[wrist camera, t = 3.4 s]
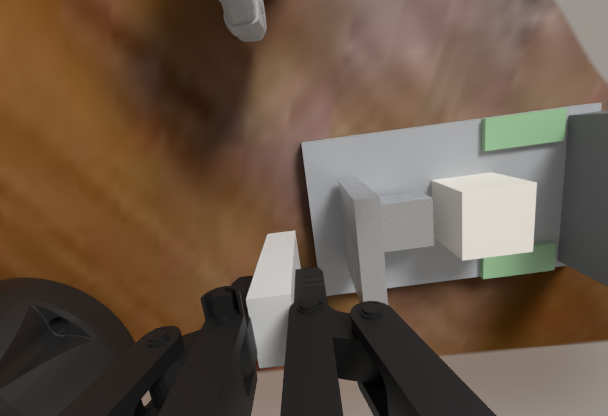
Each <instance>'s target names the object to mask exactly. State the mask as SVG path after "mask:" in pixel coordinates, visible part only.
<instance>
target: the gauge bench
mask: <svg viewBox="0 0 608 416" xmlns="http://www.w3.org/2000/svg"><path fill="white" fill-rule="evenodd" d="M601 105H602V103H592V104H582V105H575V106H567V107H560V108H552V109H545V110H538V111H530V112H523V113H515V114H508V115H501V116H493V117H486V118H478V119H471V120H463V121H456V122H449V123H441V124H434V125H426V126H419V127H411V128H404V129H397V130H389V131H382V132H374V133H367V134H360V135H352V136H345V137H337V138H330V139H322V140H315V141H308V142H301V145H302V153H303V160H304V168H305V175H306V183H307V191H308V198H309V206H310V214H311V221H312V229H313V237H314V244H315V252H316V260H317V267H318V268H320V269H321V270H322V271H323V275H324V282H325V289H326V296H330V295H338V294H346V293H354V292H356V290H355V288H354V285H353V282H352V279H351V276H350V273H349V270H348V267H347V263H346V254H345V244H344V235H343V225H342V216H341V206H340V197H339V187H338V179H342V178H350V177H357V178H359V179H360V180H361V181H362V182H363V183H364V184H366V185H367V186H368V187H369V188H370V189H372V190H373V191H374V192H375V193H376V194H378V195H379V196H380V197H381V196H388V195H396V194H404V193H411V192H419V191H420V192H422V193H424V194H426V195H428V196H430V197H432V187H431V180H437V179H444V178H452V177H460V176H467V175H475V174H482V173H490V172H493V173H498V174H502V175H506V176H511V177H515V178H519V179H524V180H528V181H533V182H537V191H536V209H535V226H534V243H533V252H527V253H520V254H512V255H504V256H496V257H488V258H480V259H472V260H464V261H462V260H461V259H460V258H458V257H457V256H456V255H455V254H453V253H452V252H451V251H450V250H448V249H447V248H446V247H445V246H444V245H442V244H441V243H440V242H439V241H437V240H436V239H435V238H434V246H429V247H421V248H413V249H405V250H398V251H390V252H384V256H385V270H386V284H387V288H394V287H402V286H410V285H417V284H425V283H433V282H441V281H449V280H457V279H465V278H473V277H481V278H482V279H489V278H497V277H505V276H513V275H521V274H529V273H537V272H545V271H553V270H554V269H555V267H560V266H569V267H571V268H573V269H575V270H577V271H579V272H581V273H583V274H585V275H587V276H589V277H591V278H593V279H595V280H597V281H598V282H600V283H602V284H604V285H606V286H608V111H601Z"/></svg>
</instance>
